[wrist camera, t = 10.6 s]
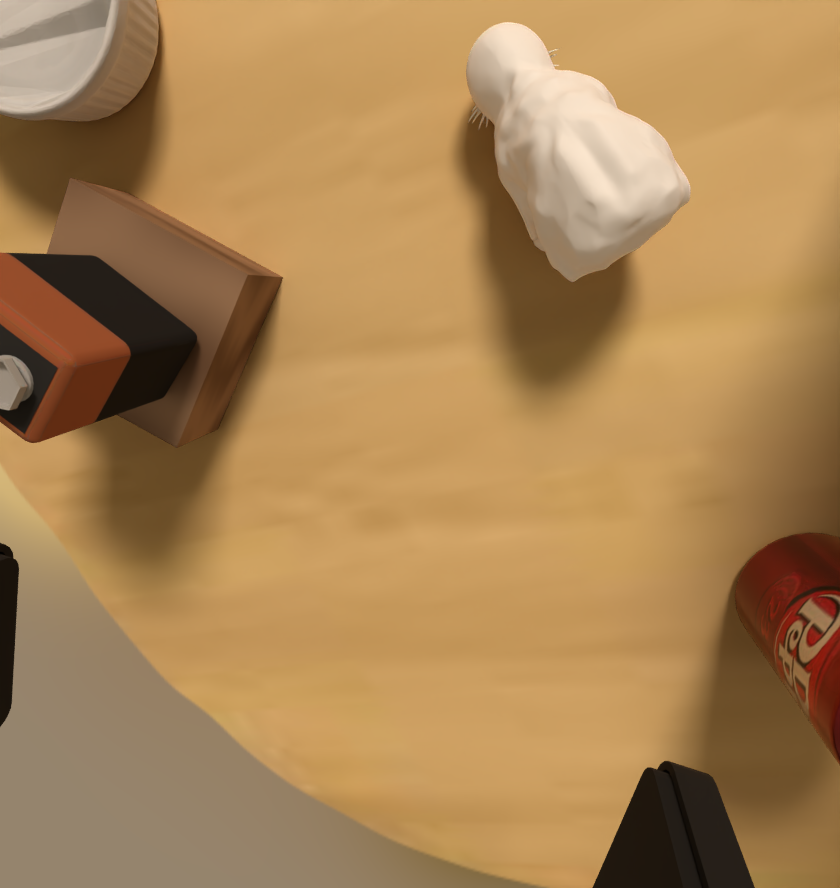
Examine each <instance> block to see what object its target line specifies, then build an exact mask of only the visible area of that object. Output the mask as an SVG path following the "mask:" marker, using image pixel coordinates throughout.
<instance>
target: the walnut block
mask: <svg viewBox="0 0 840 888" xmlns="http://www.w3.org/2000/svg"><path fill="white" fill-rule="evenodd" d="M47 254H66V255H93V256H96V257H98V258H100V259H101V260H103V261H104V262H105V263H107V264H108V265H109V266H111V267H112V268H113V269H114V270H116V271H117V272H118V273H120V274H121V275H122V276H124V277H125V278H126V279H127V280H129V281H130V282H131V283H133V284H134V285H135V286H136V287H138V288H139V289H140V290H142V291H143V292H144V293H146V294H147V295H148V296H149V297H151V298H152V299H153V300H155V301H156V302H157V303H158V304H160V305H161V306H162V307H164V308H165V309H166V310H168V311H169V312H170V313H171V314H173V315H174V316H175V317H177V318H178V319H179V320H180V321H182V322H183V323H184V324H186V325H187V326H188V327H189V328H191V329H192V330H193V331H194V332H195V333H196V335H197V342H196V344H195V346H194V348H193V349H192V351H191V353H190V354H189V356H188V358H187V360H186V361H185V363H184V365H183V366H182V368H181V370H180V371H179V373H178V375H177V376H176V378H175V380H174V382H173V383H172V385H171V387H170V388H169V390H168V392H167V393H166V395H165V396H164V397H163V398H161V399H159V400H156V401H153V402H151V403H148V404H145V405H142V406H139V407H137V408H134V409H131V410H128V411H125V412H122V413H120V414H117V415H118V416H120V417H122V418H124V419H126V420H128V421H129V422H131V423H133V424H135V425H137V426H138V427H140V428H142V429H144V430H146V431H147V432H149V433H151V434H153V435H155V436H156V437H158V438H160V439H162V440H164V441H165V442H167V443H169V444H171V445H173V446H174V447H176V448H177V447H179V446H182V445H184V444H186V443H188V442H191V441H193V440H195V439H197V438H199V437H202V436H204V435H206V434H208V433H211V432H213V431H215V430H217V429H218V427H219V425H220V423H221V420H222V418H223V416H224V413H225V411H226V409H227V406H228V404H229V402H230V399H231V397H232V395H233V392H234V390H235V388H236V385H237V383H238V381H239V378H240V376H241V374H242V371H243V369H244V367H245V364H246V362H247V360H248V357H249V355H250V353H251V350H252V348H253V346H254V343H255V341H256V339H257V336H258V334H259V332H260V329H261V327H262V325H263V322H264V320H265V318H266V315H267V313H268V311H269V308H270V306H271V304H272V301H273V299H274V297H275V294H276V292H277V290H278V287H279V285H280V283H281V280H282V278H283V277H281V276H279V275H278V274H276V273H274V272H272V271H270V270H268V269H267V268H265V267H263V266H261V265H259V264H257V263H256V262H254V261H252V260H250V259H248V258H246V257H245V256H243V255H241V254H239V253H237V252H235V251H234V250H232V249H230V248H228V247H226V246H224V245H223V244H221V243H219V242H217V241H215V240H213V239H212V238H210V237H208V236H206V235H204V234H202V233H201V232H199V231H197V230H195V229H193V228H191V227H190V226H188V225H186V224H184V223H182V222H180V221H179V220H177V219H175V218H173V217H171V216H169V215H168V214H166V213H164V212H162V211H160V210H158V209H157V208H155V207H153V206H151V205H149V204H147V203H146V202H144V201H142V200H140V199H138V198H136V197H135V196H133V195H131V194H129V193H126V192H123V191H119V190H115V189H111V188H107V187H104V186H100V185H96V184H92V183H88V182H84V181H81V180H77V179H73V178H70V180H69V183H68V186H67V190H66V193H65V196H64V199H63V203H62V206H61V209H60V212H59V216H58V219H57V222H56V225H55V229H54V232H53V235H52V238H51V242H50V245H49V248H48V251H47Z"/></svg>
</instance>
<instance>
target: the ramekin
mask: <svg viewBox="0 0 840 888" xmlns="http://www.w3.org/2000/svg"><path fill="white" fill-rule="evenodd" d="M158 32H159V24H158V11H157V6H156V0H0V114H2V115H5V116H8V117H12V118H16V119H22V120H47V119H54V120H64V121H91V120H98V119H101V118H104V117H108V116H110V115H112V114H113V113H116V112H118V111H120V110H121V109H122V108H123V107H124V106H126V105H127V104H128V103H129V102H130V101H131V100H132V99H133V98H134V97H135V96H136V95H137V94H138V92H139V91H140V89H141V88H142V87H143V85H144V83H145V81H146V80H147V78H148V77H149V74H150V71H151V69H152V67H153V65H154V60H155V57H156V54H157V46H158Z"/></svg>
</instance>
